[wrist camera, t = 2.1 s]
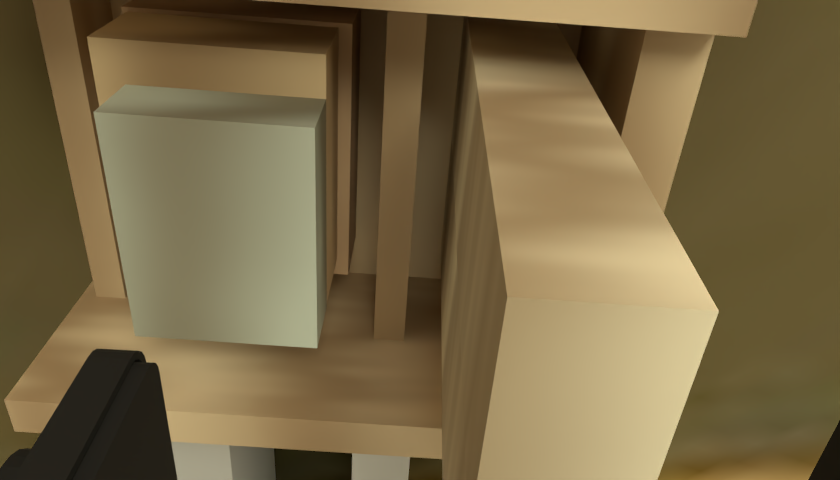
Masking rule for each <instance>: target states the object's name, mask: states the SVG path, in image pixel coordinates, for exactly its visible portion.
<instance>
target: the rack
mask: <svg viewBox="0 0 840 480" xmlns="http://www.w3.org/2000/svg"><path fill="white" fill-rule="evenodd" d="M129 1H131V0H33V5H34V9H35V14H36V19H37V23H38V28H39V33H40V37H41V42H42V47H43V51H44V56H45V61H46V65H47V70H48V74H49V79H50V84H51V88H52V93H53V98H54V102H55V107H56V112H57V116H58V121H59V126H60V130H61V135H62V139H63V144H64V149H65V153H66V158H67V163H68V167H69V172H70V177H71V181H72V186H73V190H74V195H75V200H76V204H77V209H78V214H79V218H80V223H81V228H82V232H83V237H84V242H85V246H86V251H87V255H88V260H89V265H90V269H91V274H92V279H93V281H92V282H91V284H90V285H89V286H88V288H87V289H86V290H85V292H84V293H83V294H82V296H81V297H80V298H79V300H78V301H77V302H76V304H75V305H74V307H73V308H72V309H71V311H70V312H69V313H68V315H67V316H66V317H65V319H64V320H63V321H62V323H61V324H60V325H59V327H58V328H57V329H56V331H55V332H54V334H53V335H52V336H51V338H50V339H49V340H48V342H47V343H46V344H45V346H44V347H43V348H42V350H41V351H40V352H39V354H38V355H37V356H36V358H35V359H34V361H33V362H32V363H31V365H30V366H29V367H28V369H27V370H26V371H25V373H24V374H23V375H22V377H21V378H20V379H19V381H18V382H17V383H16V385H15V386H14V388H13V389H12V390H11V392H10V393H9V394H8V396H7V397H6V398H5V400H4V401H5V404H6V407H7V410H8V413H9V416H10V419H11V422H12V425H13V428H14V431H16V432H32V433H42V431H43V429H44V428H45V426H46V424H47V423H48V421H49V420H50V418H51V416H52V415H53V413H54V411H55V410H56V408H57V406H58V405H59V403H60V402H61V400H62V398H63V397H64V395H65V393H66V392H67V390H68V388H69V387H70V385H71V384H72V382H73V380H74V379H75V377H76V375H77V374H78V372H79V371H80V369H81V367H82V366H83V364H84V362H85V361H86V359H87V357H88V356H89V355H90V354H91V352H92V351H93V350H95V349H115V350H134V351H142V353H143V354H144V355H145V359H146V362H150V363H156V364H157V365H158V368H159V372H160V378H161V384H162V390H163V396H164V402H165V408H166V414H167V420H168V426H169V432H170V438H171V442H186V443H201V444H217V445H232V446H247V447H263V448H278V449H294V450H309V451H325V452H340V453H355V454H371V455H386V456H402V457H417V458H432V459H442V350H441V242H442V232H443V222H444V212H445V201H446V191H447V181H448V171H449V161H450V151H451V141H452V131H453V121H454V111H455V101H456V90H457V80H458V70H459V60H460V50H461V40H462V30H463V20H464V16H470V17H483V18H496V19H509V20H523V21H536V22H549V23H557V25H558V27H559V29H560V30H561V32H562V34H563V36H564V38H565V39H566V41H567V43H568V45H569V46H570V48H571V50H572V52H573V53H574V55H575V57H576V59H577V61H578V62H579V64H580V66H581V68H582V69H583V71H584V73H585V75H586V77H587V78H588V80H589V82H590V84H591V85H592V87H593V89H594V91H595V93H596V94H597V96H598V98H599V100H600V101H601V103H602V105H603V107H604V108H605V110H606V112H607V114H608V116H609V117H610V119H611V121H612V123H613V124H614V126H615V128H616V130H617V132H618V133H619V135H620V137H621V139H622V140H623V142H624V144H625V146H626V147H627V149H628V151H629V153H630V155H631V156H632V158H633V160H634V162H635V163H636V165H637V167H638V169H639V171H640V172H641V174H642V176H643V178H644V179H645V181H646V183H647V185H648V187H649V188H650V190H651V192H652V194H653V195H654V197H655V199H656V201H657V202H658V204H659V206H660V208H661V210H662V211H663V213H664V210H665V206H666V203H667V199H668V196H669V192H670V189H671V185H672V182H673V178H674V175H675V171H676V168H677V165H678V161H679V158H680V154H681V151H682V147H683V144H684V140H685V137H686V133H687V130H688V126H689V123H690V119H691V116H692V112H693V109H694V105H695V102H696V98H697V95H698V92H699V88H700V85H701V81H702V78H703V74H704V71H705V67H706V64H707V60H708V57H709V53H710V50H711V46H712V43H713V39H714V36H715V35H722V36H735V37H747V34H748V31H749V27H750V24H751V21H752V18H753V15H754V11H755V8H756V5H757V2H758V0H257V1H271V2H284V3H297V4H310V5H324V6H337V7H350V8H361V35H360V78H359V120H358V163H357V205H356V237H355V243H354V248H353V253H352V258H351V263H350V268H349V273H348V275H345V274H333V278H332V283H331V287H330V291H329V296H328V300H327V308H326V312H325V317H324V321H323V326H322V330H321V334H320V339H319V343H318V348H304V347H289V346H274V345H260V344H245V343H230V342H215V341H200V340H185V339H170V338H156V337H141V336H135V333H134V327H133V322H132V317H131V311H130V306H129V300H128V295H127V290H126V284H125V279H124V274H123V268H122V263H121V258H120V252H119V247H118V241H117V236H116V231H115V225H114V220H113V215H112V209H111V204H110V199H109V193H108V188H107V182H106V177H105V172H104V166H103V161H102V156H101V150H100V145H99V139H98V134H97V129H96V123H95V118H94V113H93V112H94V111H95V110H96V109H97V108H99V102H98V97H97V91H96V86H95V80H94V75H93V69H92V63H91V58H90V52H89V47H88V41H87V36H89V35H90V34H92V33H94V32H95V31H97V30H98V29H100V28H101V27H103V26H105V25H106V24H108V23H109V22H111V21H113V20H114V19H116V18H117V17H119V16H120V15H122V9H121V6H123V5H125V4H126V3H128V2H129Z"/></svg>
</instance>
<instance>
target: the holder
mask: <svg viewBox="0 0 840 480" xmlns="http://www.w3.org/2000/svg"><path fill="white" fill-rule="evenodd" d="M171 444H172V450H173V456H174V462H175V468H176V474H177V480H276V473H275V456H274V448H263V447H247V446H232V445H217V444H201V443H186V442H171ZM409 464H410V457H402V456H386V455H371V454H355V453H352V480H408V475H409Z"/></svg>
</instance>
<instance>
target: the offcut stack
mask: <svg viewBox="0 0 840 480" xmlns="http://www.w3.org/2000/svg"><path fill="white" fill-rule="evenodd" d="M121 9H122V15H120V16H119V17H117V18H116V19H114V20H113V21H111V22H109V23H108V24H106V25H105V26H103V27H101V28H100V29H98V30H97V31H95V32H94V33H92V34H90V35H89V36H87V41H88V47H89V52H90V58H91V63H92V69H93V75H94V80H95V86H96V91H97V97H98V102H99V108H97V109H96V110H95V111H94V112H93V113H94V118H95V123H96V129H97V134H98V139H99V145H100V150H101V156H102V161H103V166H104V172H105V177H106V182H107V188H108V193H109V199H110V204H111V209H112V215H113V220H114V225H115V231H116V236H117V241H118V247H119V252H120V258H121V263H122V268H123V274H124V279H125V284H126V290H127V295H128V300H129V306H130V311H131V317H132V322H133V327H134V333H135V336H141V337H156V338H170V339H185V340H200V341H215V342H230V343H245V344H260V345H274V346H289V347H304V348H318V343H319V339H320V334H321V330H322V326H323V321H324V317H325V312H326V308H327V300H328V296H329V291H330V287H331V283H332V278H333V274H345V275H348V273H349V268H350V263H351V258H352V253H353V248H354V243H355V237H356V205H357V163H358V120H359V78H360V35H361V8H350V7H337V6H324V5H310V4H297V3H284V2H271V1H257V0H131V1H129V2H128V3H126V4H125V5H123V6H121Z"/></svg>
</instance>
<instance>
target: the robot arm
mask: <svg viewBox="0 0 840 480" xmlns="http://www.w3.org/2000/svg"><path fill="white" fill-rule="evenodd" d="M0 480H177V474H176V468H175V462H174V456H173V450H172V444H171V438H170V432H169V426H168V420H167V414H166V408H165V402H164V396H163V390H162V384H161V378H160V372H159V368H158V365H157V364H156V363H150V362H146V359H145V355H144V354H143V353H142V351H134V350H115V349H95V350H93V351H92V352H91V354H90V355H89V356H88V357H87V359H86V361H85V362H84V364H83V366H82V367H81V369H80V371H79V372H78V374H77V375H76V377H75V379H74V380H73V382H72V384H71V385H70V387H69V388H68V390H67V392H66V393H65V395H64V397H63V398H62V400H61V402H60V403H59V405H58V406H57V408H56V410H55V411H54V413H53V415H52V416H51V418H50V420H49V421H48V423H47V424H46V426H45V428H44V429H43V431H42V433H41V434H40V436H39V437H38V439H37V441H36V442H35V444H34V446H33V447H32V449H19V450H18V451H16V452H15V453H13V454H12V455H11V456H10V457H9V458H8V459H7V460H6V462H5V463H4V464H3V465H2V467H1V468H0ZM809 480H840V421H839V423H838V425H837V427H836V429H835V431H834V432H833V434H832V436H831V438H830V440H829V442H828V444H827V446H826V448H825V449H824V451H823V453H822V455H821V457H820V459H819V461H818V463H817V464H816V466H815V468H814V470H813V472H812V474H811V476H810V478H809Z"/></svg>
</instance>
